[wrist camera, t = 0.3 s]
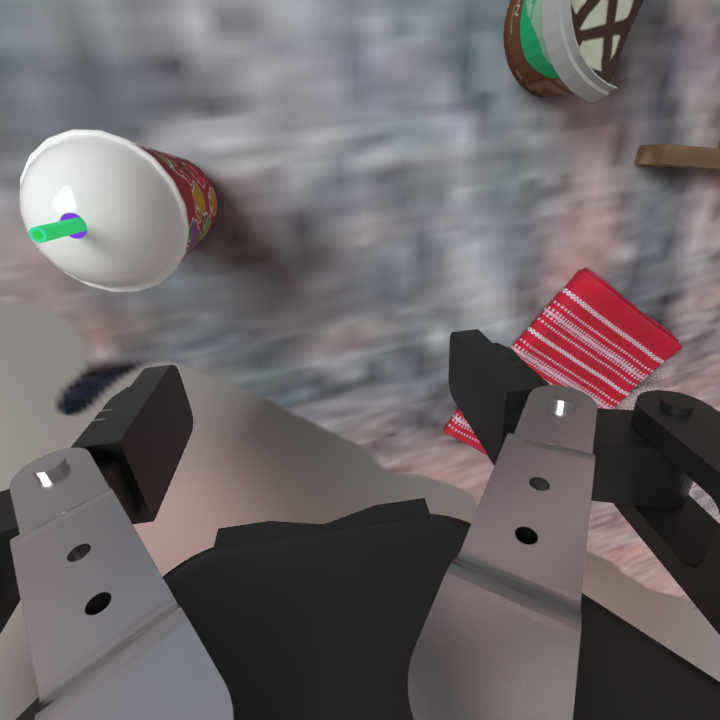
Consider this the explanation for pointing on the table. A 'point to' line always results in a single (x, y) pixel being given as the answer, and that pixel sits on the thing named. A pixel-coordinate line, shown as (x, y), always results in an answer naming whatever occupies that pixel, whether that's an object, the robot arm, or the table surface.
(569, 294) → the dish towel
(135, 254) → the smoothie
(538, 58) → the food container
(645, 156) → the walnut dock
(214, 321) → the table surface
